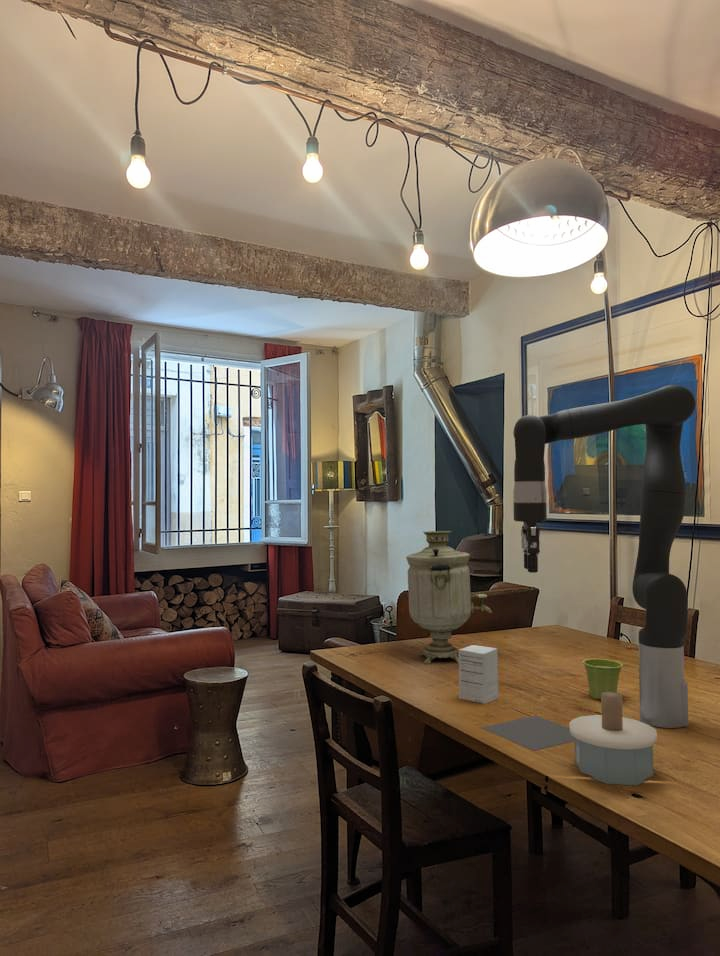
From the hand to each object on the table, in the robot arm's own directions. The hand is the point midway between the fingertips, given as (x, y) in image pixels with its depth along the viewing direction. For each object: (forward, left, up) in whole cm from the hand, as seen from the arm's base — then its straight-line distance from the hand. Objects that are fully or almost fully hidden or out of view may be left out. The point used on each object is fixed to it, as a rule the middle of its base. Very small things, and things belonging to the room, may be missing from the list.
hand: (530, 570), depth 158 cm
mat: (+1, +14, -33) cm, 36 cm away
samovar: (+20, -52, -33) cm, 65 cm away
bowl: (-11, +32, -33) cm, 47 cm away
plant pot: (-19, -16, -33) cm, 42 cm away
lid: (-11, +32, -27) cm, 43 cm away
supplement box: (+12, -10, -33) cm, 37 cm away
